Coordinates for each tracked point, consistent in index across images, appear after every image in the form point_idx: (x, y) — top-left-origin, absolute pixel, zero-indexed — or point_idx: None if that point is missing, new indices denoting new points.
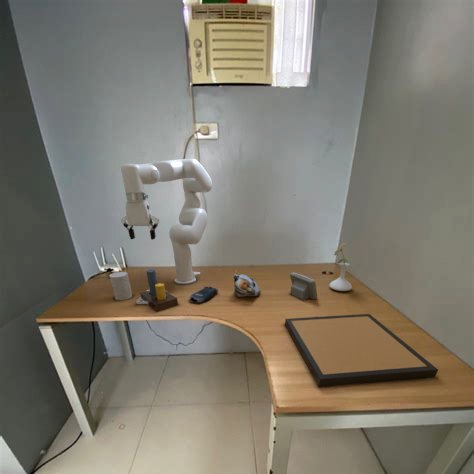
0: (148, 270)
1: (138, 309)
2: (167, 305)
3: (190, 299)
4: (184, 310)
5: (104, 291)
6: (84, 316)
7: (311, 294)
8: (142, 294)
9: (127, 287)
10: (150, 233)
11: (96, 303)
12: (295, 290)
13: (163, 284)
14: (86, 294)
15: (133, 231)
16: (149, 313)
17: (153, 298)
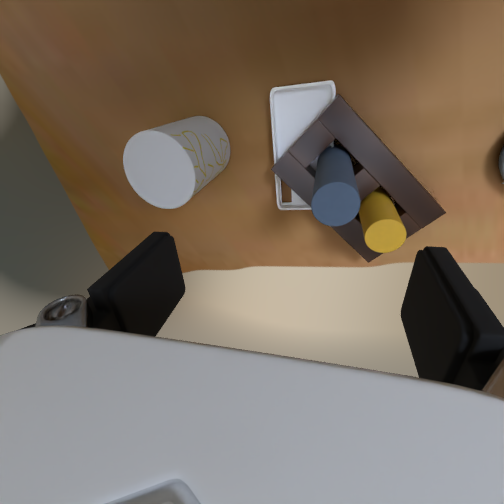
0: (321, 204)
1: (301, 237)
2: None
3: (502, 177)
4: (465, 241)
5: (100, 101)
6: (187, 271)
7: None
8: (288, 185)
9: (215, 168)
10: (424, 376)
11: None
12: None
13: (404, 231)
14: (71, 139)
15: (132, 288)
16: (345, 259)
17: None
